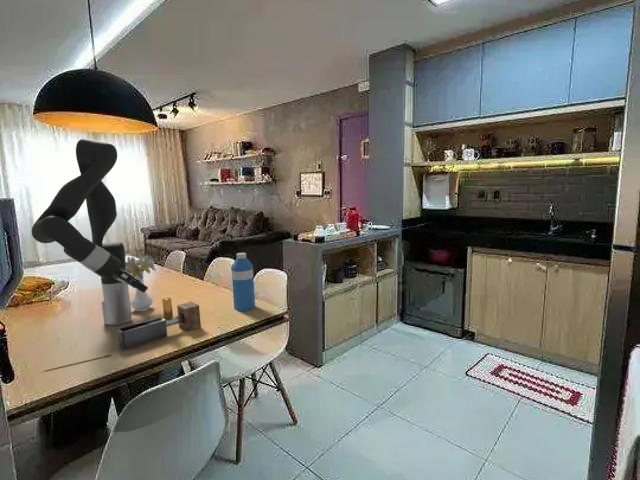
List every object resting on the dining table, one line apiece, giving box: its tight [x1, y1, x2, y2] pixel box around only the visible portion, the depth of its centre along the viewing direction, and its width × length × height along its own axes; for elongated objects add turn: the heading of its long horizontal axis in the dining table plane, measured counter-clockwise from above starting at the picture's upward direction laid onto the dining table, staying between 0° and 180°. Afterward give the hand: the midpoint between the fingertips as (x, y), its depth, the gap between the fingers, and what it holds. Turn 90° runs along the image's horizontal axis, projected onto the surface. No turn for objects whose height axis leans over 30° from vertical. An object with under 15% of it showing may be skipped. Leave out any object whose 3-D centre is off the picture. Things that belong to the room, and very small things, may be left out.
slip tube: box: [149, 297, 184, 327], centre depth 130 cm, size 16×3×11 cm, turn 136°
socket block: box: [176, 301, 202, 332], centre depth 135 cm, size 6×7×9 cm
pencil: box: [39, 353, 113, 373], centre depth 109 cm, size 19×1×1 cm
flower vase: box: [125, 253, 156, 312], centre depth 156 cm, size 13×18×25 cm
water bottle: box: [230, 252, 256, 312], centre depth 155 cm, size 9×9×25 cm
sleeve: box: [116, 316, 168, 351], centre depth 123 cm, size 15×5×6 cm, turn 136°
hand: (141, 288), depth 121 cm, fingers open, 8 cm apart
